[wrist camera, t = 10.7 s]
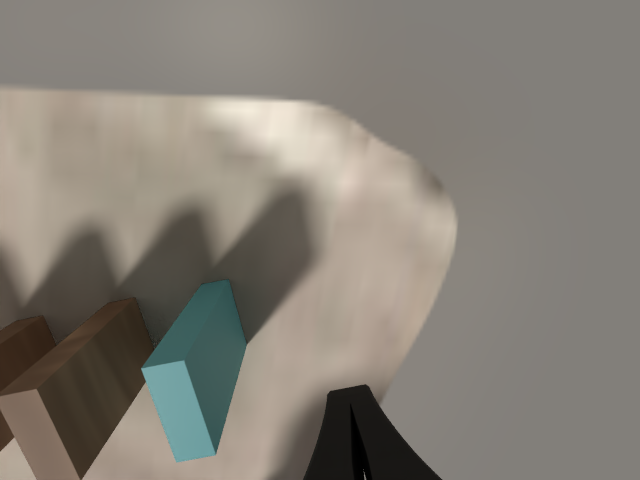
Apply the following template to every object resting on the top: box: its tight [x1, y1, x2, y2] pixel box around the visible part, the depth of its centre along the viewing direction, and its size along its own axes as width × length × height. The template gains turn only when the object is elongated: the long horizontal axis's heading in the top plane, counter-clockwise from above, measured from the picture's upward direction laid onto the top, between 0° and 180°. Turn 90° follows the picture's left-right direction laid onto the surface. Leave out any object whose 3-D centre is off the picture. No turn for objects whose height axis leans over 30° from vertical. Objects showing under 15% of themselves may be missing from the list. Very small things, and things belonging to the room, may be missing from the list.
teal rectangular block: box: [141, 279, 247, 462], centre depth 18 cm, size 2×4×8 cm, turn 11°
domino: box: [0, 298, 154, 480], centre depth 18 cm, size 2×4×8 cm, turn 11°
